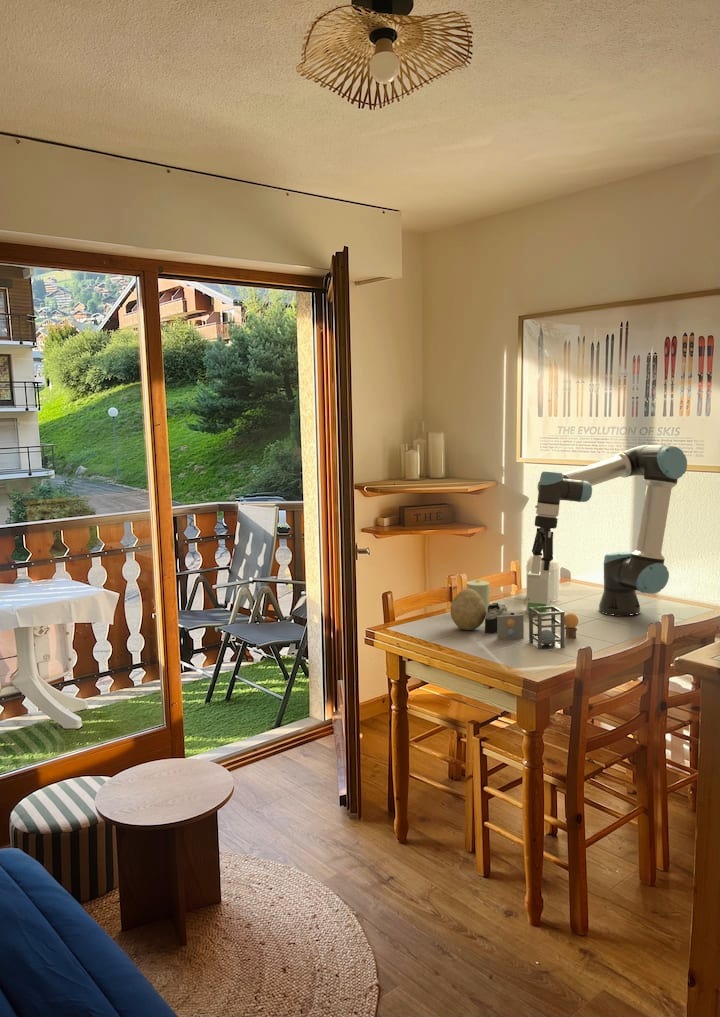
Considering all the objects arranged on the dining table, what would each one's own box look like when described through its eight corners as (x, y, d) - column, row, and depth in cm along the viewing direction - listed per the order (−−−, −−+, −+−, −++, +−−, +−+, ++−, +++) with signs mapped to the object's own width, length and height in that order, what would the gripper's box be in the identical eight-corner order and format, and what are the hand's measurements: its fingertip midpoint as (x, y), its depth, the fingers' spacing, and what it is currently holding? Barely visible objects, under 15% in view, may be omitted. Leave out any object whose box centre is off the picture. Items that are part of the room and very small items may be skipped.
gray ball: (550, 642, 261) (550, 627, 261) (556, 646, 256) (556, 631, 256) (536, 643, 261) (536, 628, 260) (542, 647, 256) (542, 632, 255)
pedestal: (574, 637, 269) (574, 625, 268) (580, 641, 264) (580, 628, 263) (560, 638, 268) (560, 626, 268) (566, 642, 263) (566, 629, 263)
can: (489, 608, 312) (489, 579, 310) (491, 614, 303) (490, 584, 301) (466, 608, 313) (465, 579, 311) (467, 614, 304) (466, 584, 302)
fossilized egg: (449, 625, 289) (448, 585, 287) (483, 624, 289) (483, 584, 287) (452, 634, 276) (451, 593, 275) (488, 634, 276) (487, 592, 274)
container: (522, 595, 332) (522, 549, 329) (552, 594, 333) (552, 547, 331) (532, 603, 318) (532, 554, 316) (564, 601, 320) (564, 553, 318)
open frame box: (554, 642, 264) (554, 605, 262) (564, 650, 255) (564, 611, 253) (529, 644, 262) (529, 607, 261) (538, 651, 254) (538, 613, 252)
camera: (503, 638, 270) (503, 610, 269) (479, 635, 275) (479, 607, 274) (520, 627, 283) (520, 600, 282) (497, 624, 288) (496, 598, 287)
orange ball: (574, 625, 268) (574, 611, 268) (580, 629, 263) (580, 614, 263) (560, 626, 268) (560, 612, 267) (566, 630, 263) (566, 615, 262)
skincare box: (526, 613, 302) (525, 574, 300) (529, 609, 308) (528, 570, 307) (548, 615, 299) (547, 575, 297) (550, 610, 305) (550, 571, 303)
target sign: (521, 638, 269) (521, 613, 268) (524, 640, 266) (524, 615, 265) (496, 640, 268) (496, 615, 267) (499, 642, 265) (499, 617, 264)
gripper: (528, 512, 282) (521, 570, 283) (544, 517, 257) (536, 581, 258) (548, 514, 282) (541, 572, 283) (567, 520, 257) (559, 583, 258)
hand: (539, 576), depth 271 cm, fingers open, 13 cm apart
